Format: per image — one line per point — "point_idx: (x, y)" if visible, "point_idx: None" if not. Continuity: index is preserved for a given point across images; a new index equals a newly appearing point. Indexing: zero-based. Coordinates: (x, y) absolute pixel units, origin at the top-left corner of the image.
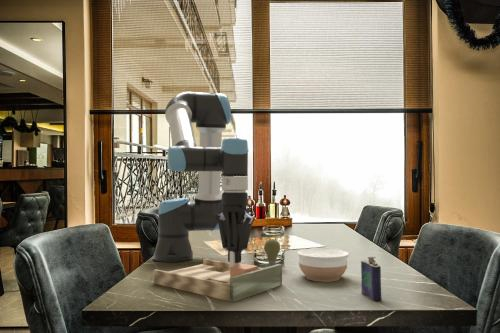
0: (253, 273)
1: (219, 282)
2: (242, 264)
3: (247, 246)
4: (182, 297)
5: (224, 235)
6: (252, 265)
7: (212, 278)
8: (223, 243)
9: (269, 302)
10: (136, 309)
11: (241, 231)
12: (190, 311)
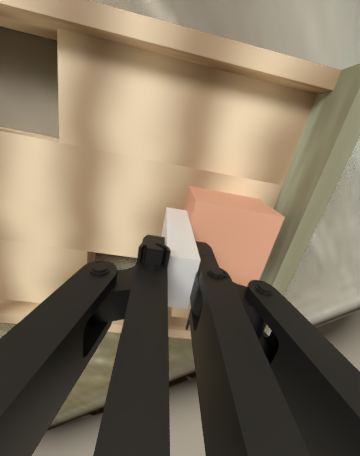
0: (285, 286)
1: (190, 333)
2: (202, 216)
3: (283, 296)
4: (108, 333)
5: (59, 400)
6: (256, 214)
7: (99, 248)
8: (86, 335)
9: (310, 280)
10: (93, 404)
11: (290, 442)
12: (184, 378)
